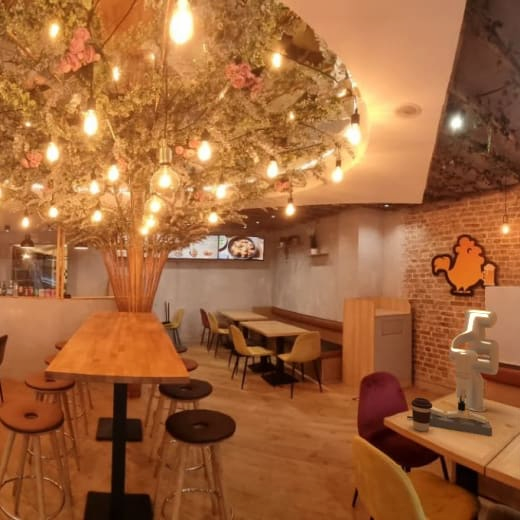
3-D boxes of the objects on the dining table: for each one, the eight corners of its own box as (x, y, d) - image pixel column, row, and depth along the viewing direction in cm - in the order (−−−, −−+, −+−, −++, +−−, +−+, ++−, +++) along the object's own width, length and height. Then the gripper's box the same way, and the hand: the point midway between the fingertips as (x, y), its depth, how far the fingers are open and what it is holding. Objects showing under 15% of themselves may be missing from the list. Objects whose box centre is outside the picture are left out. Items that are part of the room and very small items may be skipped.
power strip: (407, 416, 229) (407, 407, 229) (488, 429, 215) (488, 420, 215) (406, 422, 220) (407, 413, 220) (491, 436, 205) (492, 426, 205)
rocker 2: (467, 414, 218) (468, 410, 218) (484, 420, 215) (485, 416, 215) (468, 417, 213) (469, 413, 213) (485, 423, 210) (486, 419, 210)
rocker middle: (447, 414, 221) (446, 410, 222) (463, 414, 219) (462, 409, 219) (448, 417, 217) (447, 413, 217) (464, 417, 214) (463, 412, 214)
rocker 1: (426, 408, 225) (427, 404, 225) (442, 414, 222) (443, 410, 222) (426, 411, 221) (428, 407, 220) (442, 417, 218) (443, 413, 218)
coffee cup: (427, 426, 215) (428, 397, 216) (433, 433, 205) (435, 403, 206) (408, 424, 216) (409, 395, 217) (413, 431, 206) (414, 401, 207)
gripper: (453, 371, 225) (452, 405, 225) (455, 377, 212) (454, 413, 211) (469, 373, 223) (467, 407, 222) (472, 379, 209) (470, 415, 208)
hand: (461, 410), depth 217 cm, fingers closed
